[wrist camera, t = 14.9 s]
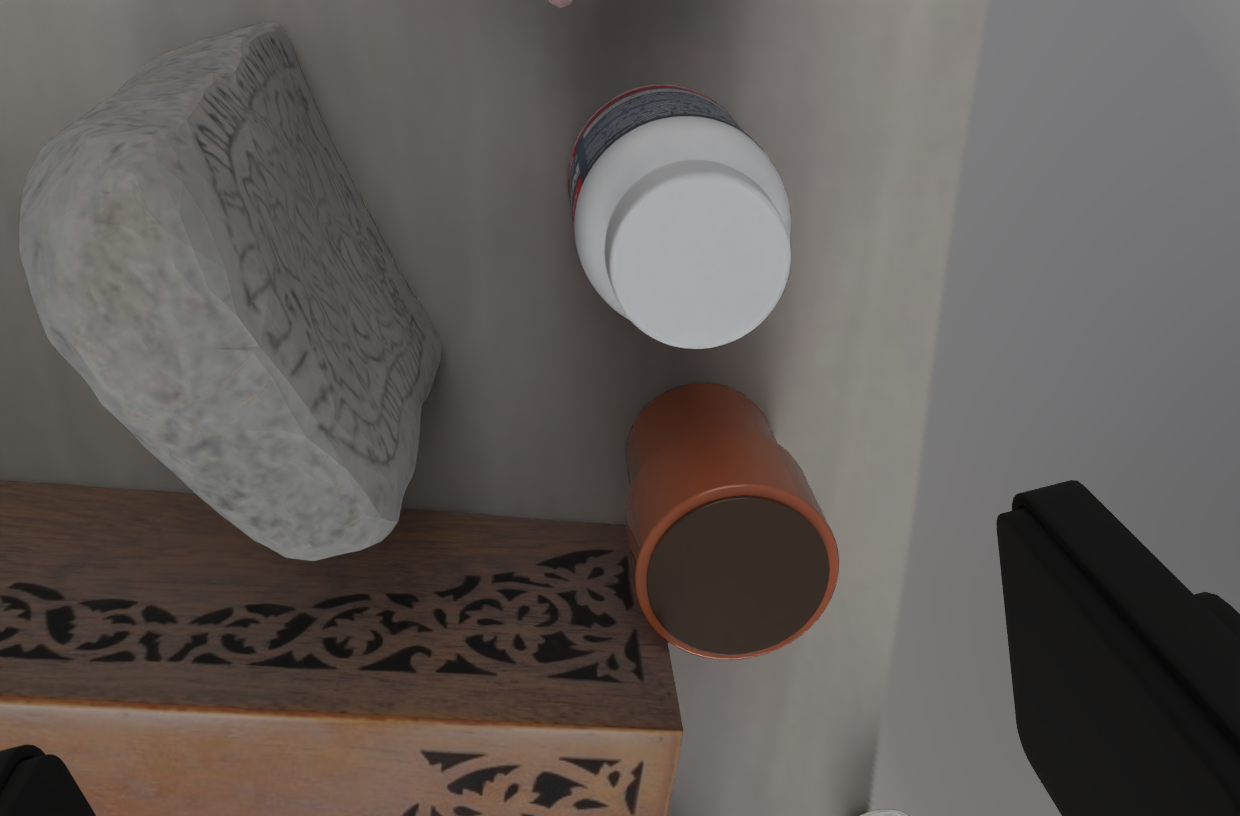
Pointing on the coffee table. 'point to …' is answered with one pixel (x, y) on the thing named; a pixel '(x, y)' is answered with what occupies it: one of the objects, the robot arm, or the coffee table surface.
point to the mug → (560, 2)
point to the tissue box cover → (330, 664)
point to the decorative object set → (885, 813)
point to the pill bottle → (679, 217)
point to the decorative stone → (234, 294)
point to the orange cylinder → (723, 527)
